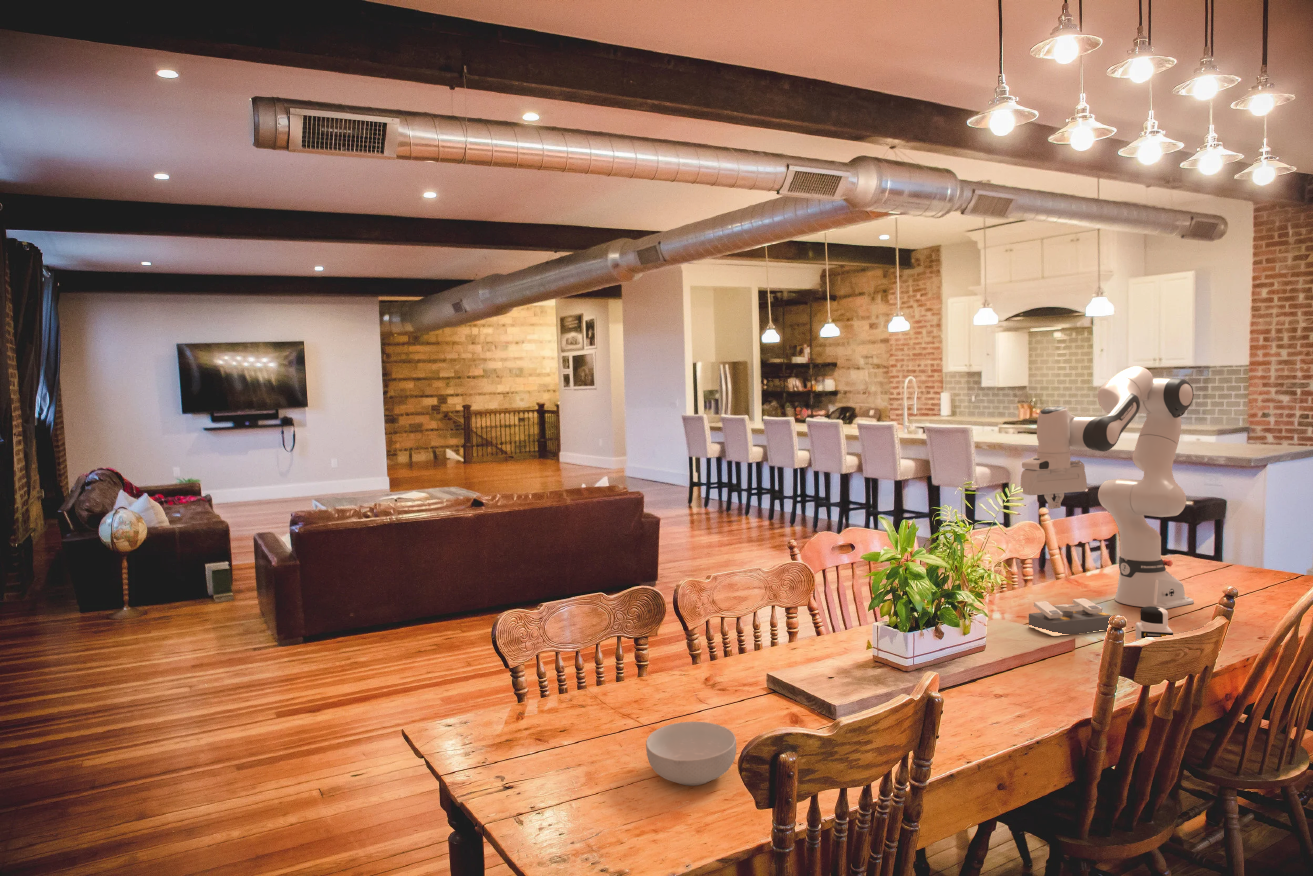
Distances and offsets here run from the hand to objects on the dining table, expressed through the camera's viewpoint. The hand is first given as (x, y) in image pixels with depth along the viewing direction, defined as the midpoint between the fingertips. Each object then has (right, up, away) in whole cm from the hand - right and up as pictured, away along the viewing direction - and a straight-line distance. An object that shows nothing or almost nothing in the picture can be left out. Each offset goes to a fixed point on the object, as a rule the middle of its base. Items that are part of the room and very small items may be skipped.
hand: (1054, 508), depth 240 cm
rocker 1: (-6, -28, -9) cm, 30 cm away
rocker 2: (0, -28, -8) cm, 29 cm away
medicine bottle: (+11, -35, -31) cm, 48 cm away
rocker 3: (+6, -28, -6) cm, 29 cm away
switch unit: (+1, -34, -7) cm, 35 cm away
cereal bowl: (-111, -42, -89) cm, 149 cm away
